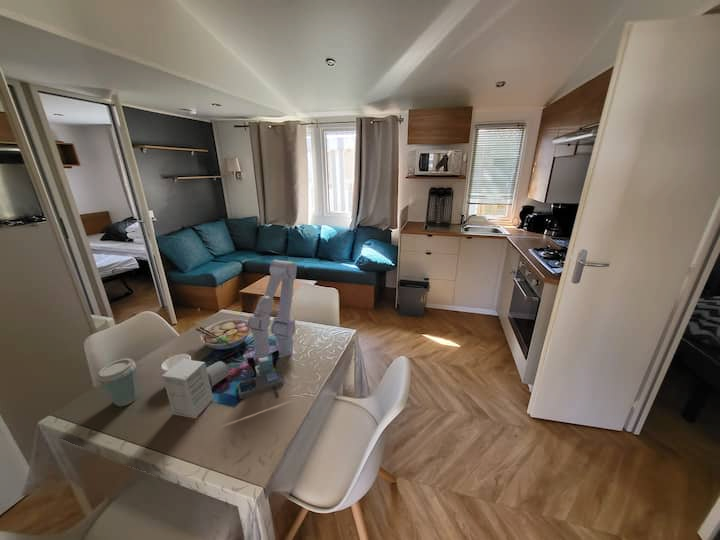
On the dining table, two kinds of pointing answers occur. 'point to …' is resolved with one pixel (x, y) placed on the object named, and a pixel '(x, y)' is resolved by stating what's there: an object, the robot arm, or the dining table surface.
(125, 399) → the disposable coffee cup
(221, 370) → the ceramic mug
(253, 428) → the dining table surface
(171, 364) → the cup
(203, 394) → the supplement box
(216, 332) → the ramen bowl
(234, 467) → the dining table surface
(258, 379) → the grey busybox board
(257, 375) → the tray
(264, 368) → the plug
